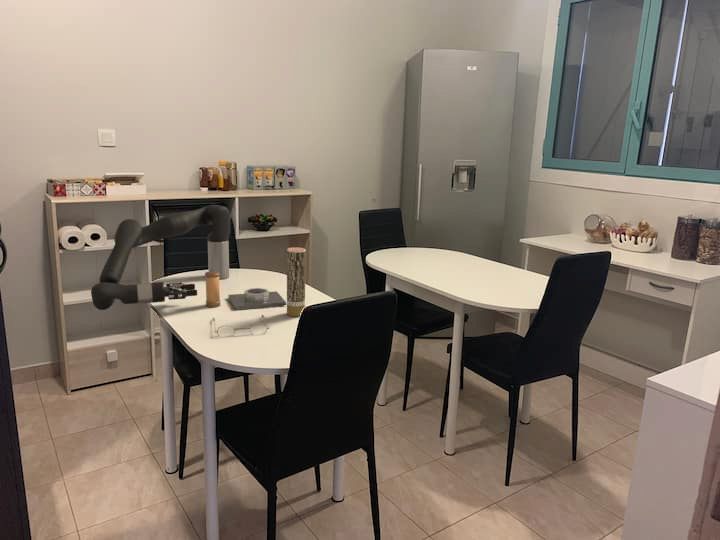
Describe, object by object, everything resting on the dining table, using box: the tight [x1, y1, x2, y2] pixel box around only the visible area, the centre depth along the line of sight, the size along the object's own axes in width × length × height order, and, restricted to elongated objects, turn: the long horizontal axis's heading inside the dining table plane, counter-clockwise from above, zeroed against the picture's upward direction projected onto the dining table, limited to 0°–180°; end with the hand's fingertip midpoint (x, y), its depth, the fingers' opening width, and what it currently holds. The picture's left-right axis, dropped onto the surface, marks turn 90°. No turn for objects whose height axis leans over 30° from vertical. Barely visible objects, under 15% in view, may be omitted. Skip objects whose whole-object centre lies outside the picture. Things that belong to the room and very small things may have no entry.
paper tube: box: [286, 246, 307, 317], centre depth 209 cm, size 7×7×25 cm
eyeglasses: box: [213, 314, 270, 336], centre depth 198 cm, size 18×19×4 cm
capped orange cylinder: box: [204, 271, 221, 308], centre depth 218 cm, size 5×5×13 cm
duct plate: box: [227, 287, 287, 311], centre depth 225 cm, size 16×20×4 cm
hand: (196, 289), depth 216 cm, fingers open, 8 cm apart
